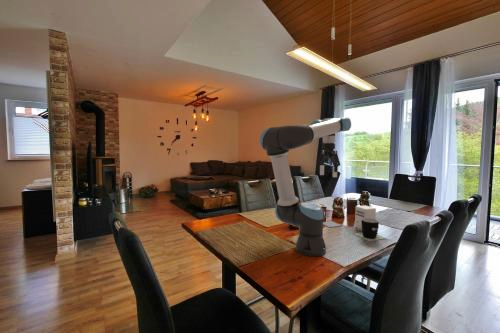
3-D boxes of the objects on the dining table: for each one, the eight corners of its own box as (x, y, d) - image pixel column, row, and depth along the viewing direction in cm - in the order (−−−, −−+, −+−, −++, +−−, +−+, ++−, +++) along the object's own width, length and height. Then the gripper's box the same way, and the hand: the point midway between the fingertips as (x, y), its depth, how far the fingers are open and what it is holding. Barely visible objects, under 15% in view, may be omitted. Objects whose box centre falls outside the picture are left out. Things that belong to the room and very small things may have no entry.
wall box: (364, 231, 150) (365, 209, 149) (354, 226, 158) (355, 206, 157) (375, 229, 152) (376, 208, 151) (365, 225, 161) (365, 205, 160)
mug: (371, 240, 132) (372, 223, 131) (357, 235, 140) (358, 219, 139) (384, 237, 138) (385, 220, 137) (370, 232, 146) (371, 216, 145)
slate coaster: (328, 227, 157) (328, 226, 157) (320, 223, 166) (320, 222, 166) (341, 226, 160) (341, 225, 159) (332, 221, 169) (332, 221, 169)
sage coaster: (368, 241, 133) (368, 240, 133) (353, 234, 144) (353, 233, 144) (385, 238, 136) (385, 238, 136) (369, 232, 148) (369, 231, 148)
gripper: (347, 142, 139) (346, 177, 141) (322, 143, 163) (321, 174, 165) (336, 142, 137) (335, 178, 139) (313, 143, 161) (312, 174, 162)
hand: (328, 176), depth 152 cm, fingers open, 13 cm apart
